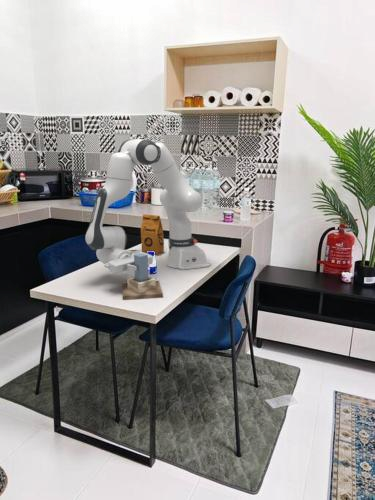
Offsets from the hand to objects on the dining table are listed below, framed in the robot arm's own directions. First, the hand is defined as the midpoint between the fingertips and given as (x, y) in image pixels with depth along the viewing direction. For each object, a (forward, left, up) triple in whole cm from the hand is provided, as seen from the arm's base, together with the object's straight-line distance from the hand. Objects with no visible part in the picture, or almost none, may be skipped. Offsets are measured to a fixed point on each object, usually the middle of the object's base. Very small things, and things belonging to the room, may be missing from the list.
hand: (142, 267), depth 162 cm
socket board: (+1, -1, -11) cm, 11 cm away
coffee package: (-9, -60, -11) cm, 61 cm away
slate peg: (+1, -1, -9) cm, 9 cm away
